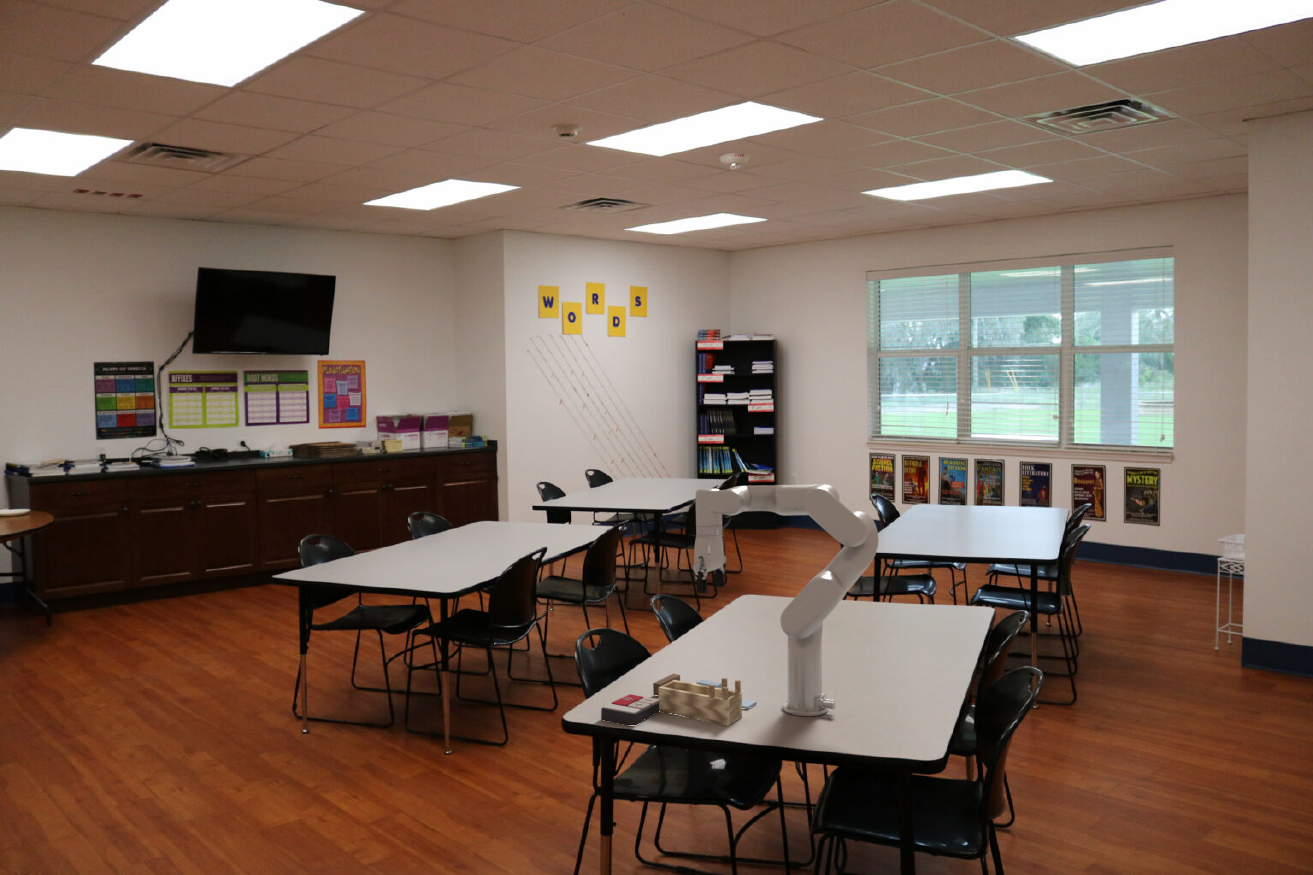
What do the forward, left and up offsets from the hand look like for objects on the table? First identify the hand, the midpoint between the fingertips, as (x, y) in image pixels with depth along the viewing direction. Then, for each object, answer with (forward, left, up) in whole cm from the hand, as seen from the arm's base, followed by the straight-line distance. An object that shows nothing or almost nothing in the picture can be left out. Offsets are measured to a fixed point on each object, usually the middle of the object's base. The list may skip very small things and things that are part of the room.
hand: (710, 589), depth 269 cm
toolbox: (-4, +13, -32) cm, 35 cm away
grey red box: (+13, +23, -33) cm, 42 cm away
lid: (-2, 0, -32) cm, 32 cm away
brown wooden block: (+15, 0, -33) cm, 36 cm away
